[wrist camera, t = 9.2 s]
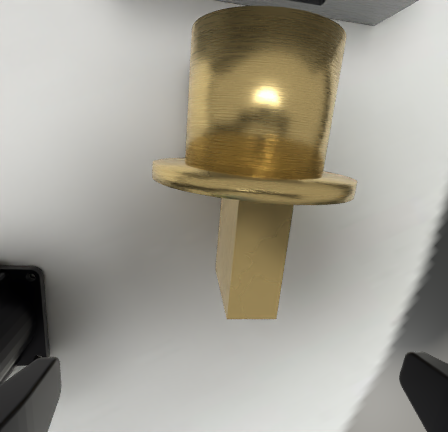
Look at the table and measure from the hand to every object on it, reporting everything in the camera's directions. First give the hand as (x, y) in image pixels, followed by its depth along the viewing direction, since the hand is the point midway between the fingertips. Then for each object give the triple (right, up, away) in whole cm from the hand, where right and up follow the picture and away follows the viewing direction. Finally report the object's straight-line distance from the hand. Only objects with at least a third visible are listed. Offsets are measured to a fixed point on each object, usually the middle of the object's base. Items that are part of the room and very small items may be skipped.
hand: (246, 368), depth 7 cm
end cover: (0, +7, +9) cm, 11 cm away
